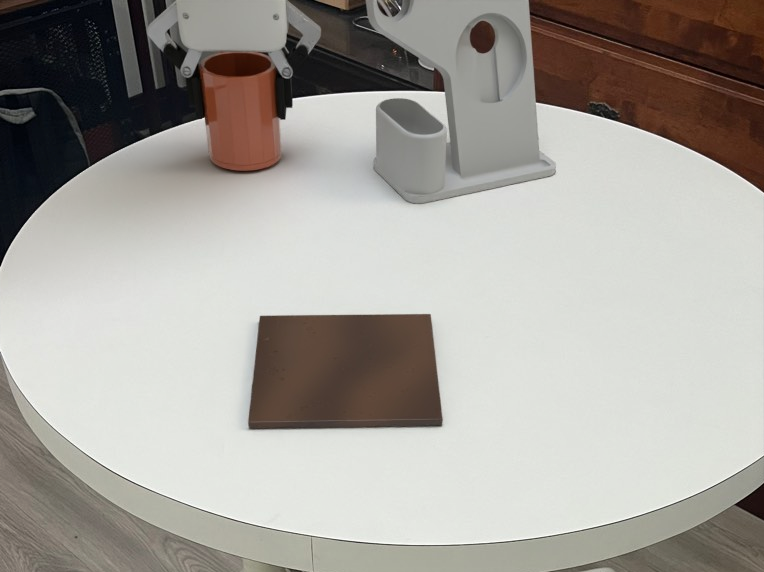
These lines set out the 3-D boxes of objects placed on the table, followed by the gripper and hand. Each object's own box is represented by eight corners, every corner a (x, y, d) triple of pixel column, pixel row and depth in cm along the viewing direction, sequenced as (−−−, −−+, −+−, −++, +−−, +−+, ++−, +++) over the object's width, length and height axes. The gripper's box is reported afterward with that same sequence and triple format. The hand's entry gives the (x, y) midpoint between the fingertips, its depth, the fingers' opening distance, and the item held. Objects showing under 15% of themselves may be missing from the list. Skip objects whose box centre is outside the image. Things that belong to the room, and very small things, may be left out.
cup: (206, 170, 100) (195, 78, 94) (213, 140, 105) (203, 50, 99) (280, 171, 100) (274, 78, 94) (283, 140, 106) (277, 51, 99)
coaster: (248, 428, 72) (247, 422, 71) (260, 321, 81) (259, 315, 81) (442, 426, 72) (442, 419, 72) (430, 319, 82) (430, 313, 82)
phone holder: (408, 206, 96) (411, 3, 83) (364, 164, 102) (362, -30, 90) (560, 173, 102) (585, -21, 89) (510, 135, 108) (527, -51, 95)
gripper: (323, -98, 91) (329, 100, 103) (130, -101, 90) (159, 99, 102) (322, -76, 85) (328, 130, 98) (117, -79, 84) (149, 129, 97)
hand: (242, 113), depth 100 cm, fingers closed on cup, 7 cm apart
